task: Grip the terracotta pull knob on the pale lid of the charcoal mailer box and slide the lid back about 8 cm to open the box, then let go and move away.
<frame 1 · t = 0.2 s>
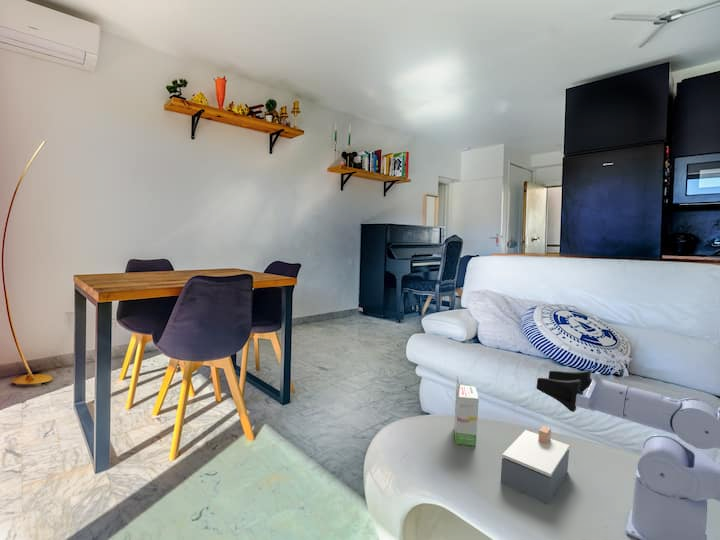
hand: (543, 379, 73), 21 cm above the table, tool horizontal, fingers open, 7 cm apart
ink box: (464, 437, 92), on the table
lid: (534, 476, 76), resting on mailer box, slide at 0.0 cm
mailer box: (534, 476, 76), on the table
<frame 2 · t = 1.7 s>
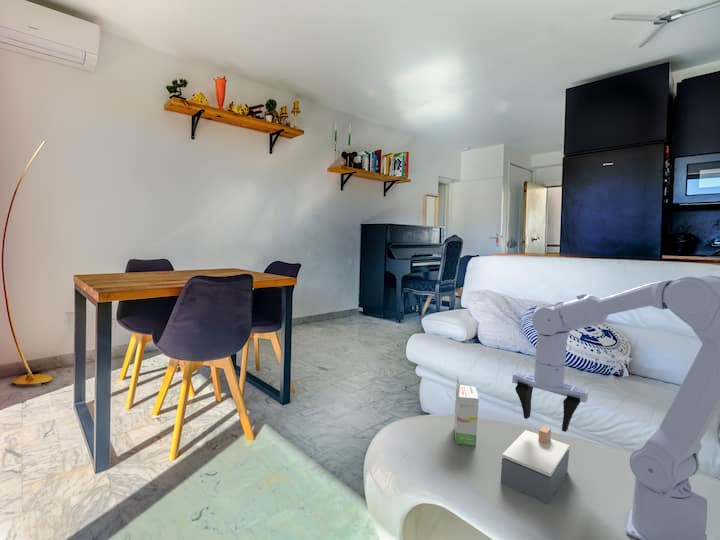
hand: (545, 423, 80), 10 cm above the table, tool pointing down, fingers open, 7 cm apart
nothing on the table moved.
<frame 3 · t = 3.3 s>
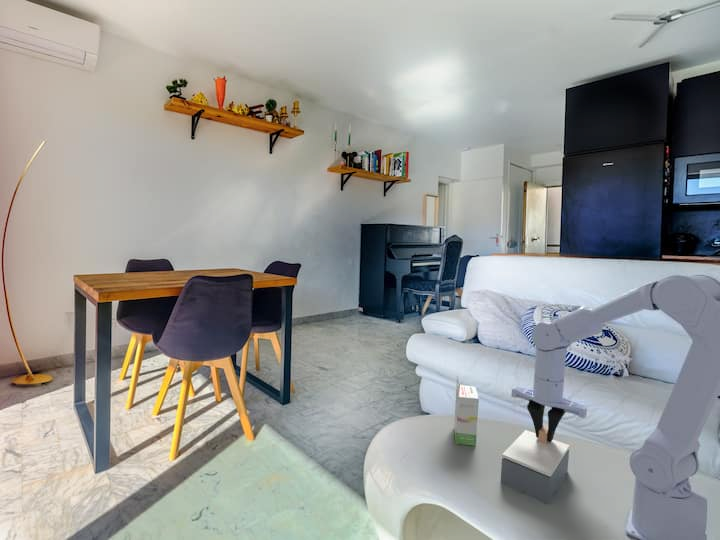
hand: (544, 438, 80), 6 cm above the table, tool pointing down, fingers closed on lid, 2 cm apart
lid: (534, 476, 76), resting on mailer box, slide at 0.0 cm, touching gripper
everything else where it was.
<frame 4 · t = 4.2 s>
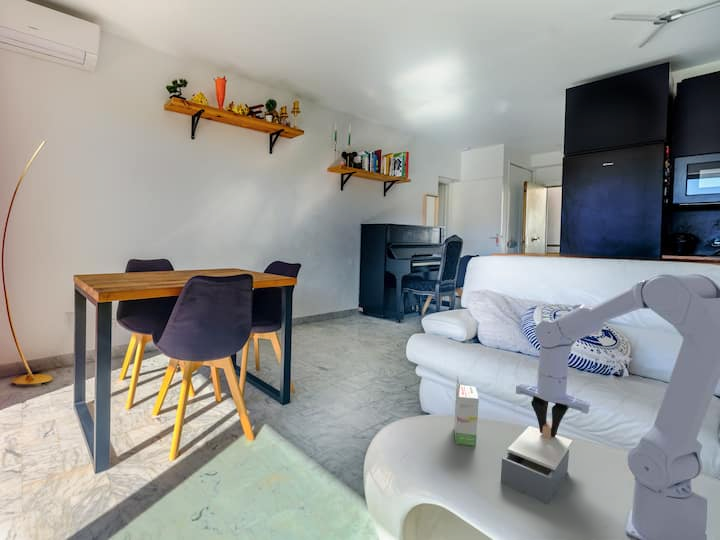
hand: (548, 433, 82), 6 cm above the table, tool pointing down, fingers closed on lid, 2 cm apart
lid: (539, 470, 78), resting on mailer box, slide at 2.8 cm, touching gripper
everything else where it was.
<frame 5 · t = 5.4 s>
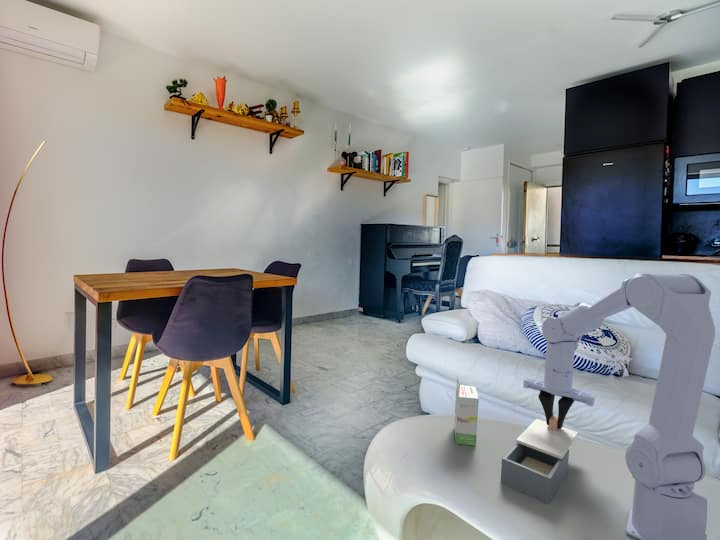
hand: (554, 425, 86), 6 cm above the table, tool pointing down, fingers closed on lid, 2 cm apart
lid: (546, 461, 82), resting on mailer box, slide at 8.0 cm, touching gripper
everything else where it was.
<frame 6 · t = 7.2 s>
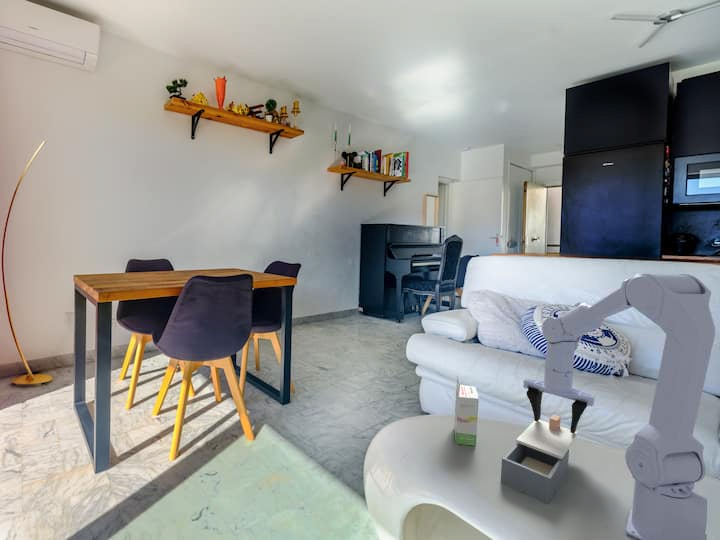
hand: (554, 425, 86), 6 cm above the table, tool pointing down, fingers open, 7 cm apart
lid: (546, 461, 82), resting on mailer box, slide at 8.0 cm
everything else where it was.
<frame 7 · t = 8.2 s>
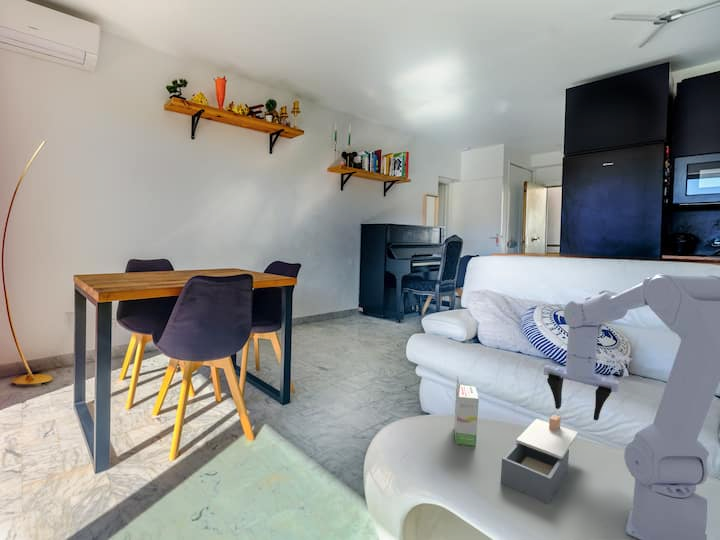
hand: (576, 413, 84), 10 cm above the table, tool pointing down, fingers open, 7 cm apart
nothing on the table moved.
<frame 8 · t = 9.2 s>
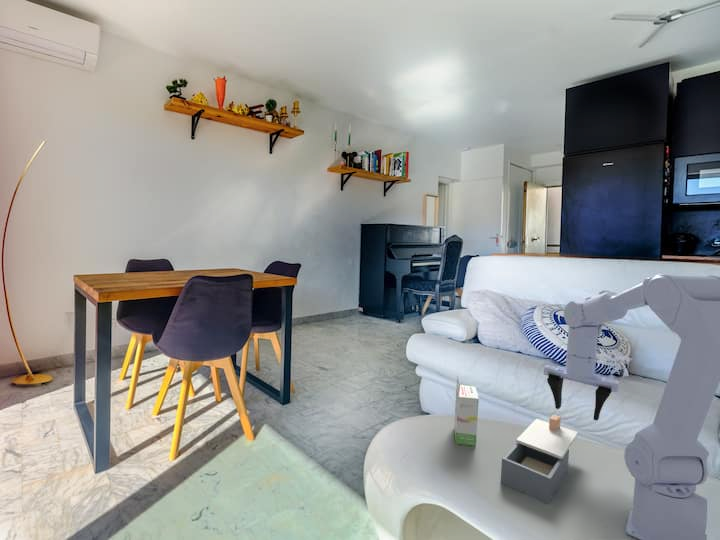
hand: (576, 413, 84), 10 cm above the table, tool pointing down, fingers open, 7 cm apart
nothing on the table moved.
at the end: lid slide at 8.0 cm; the gripper is holding nothing; ink box moved 0.3 cm from its start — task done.
